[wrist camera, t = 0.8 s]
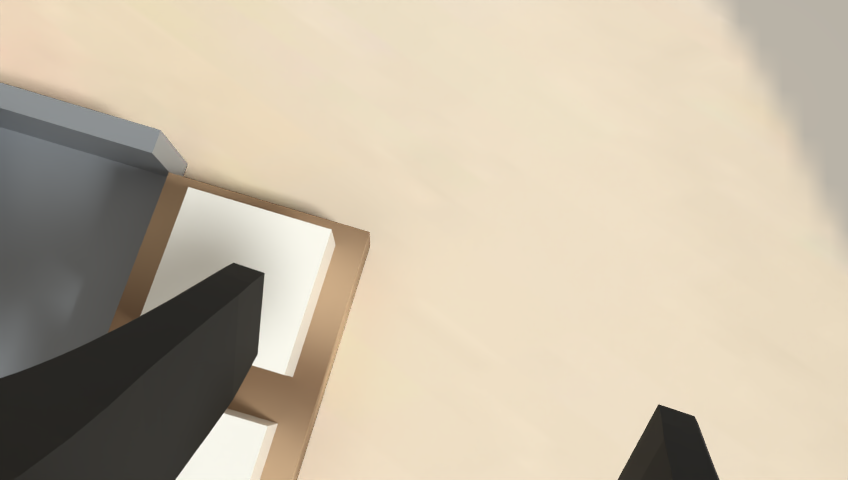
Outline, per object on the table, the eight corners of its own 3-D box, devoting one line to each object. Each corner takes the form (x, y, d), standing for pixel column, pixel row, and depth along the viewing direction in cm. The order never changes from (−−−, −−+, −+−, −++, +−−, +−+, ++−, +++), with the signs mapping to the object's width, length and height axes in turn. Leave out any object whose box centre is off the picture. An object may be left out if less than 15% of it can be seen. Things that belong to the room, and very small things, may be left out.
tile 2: (230, 569, 23) (214, 589, 21) (88, 527, 23) (55, 542, 21) (278, 423, 24) (267, 425, 22) (141, 382, 24) (115, 381, 22)
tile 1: (293, 377, 24) (284, 374, 22) (157, 336, 24) (135, 330, 22) (335, 245, 25) (331, 229, 23) (205, 206, 25) (188, 186, 23)
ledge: (263, 585, 25) (252, 604, 23) (61, 525, 25) (29, 538, 23) (369, 246, 28) (369, 232, 25) (186, 191, 28) (168, 172, 25)
